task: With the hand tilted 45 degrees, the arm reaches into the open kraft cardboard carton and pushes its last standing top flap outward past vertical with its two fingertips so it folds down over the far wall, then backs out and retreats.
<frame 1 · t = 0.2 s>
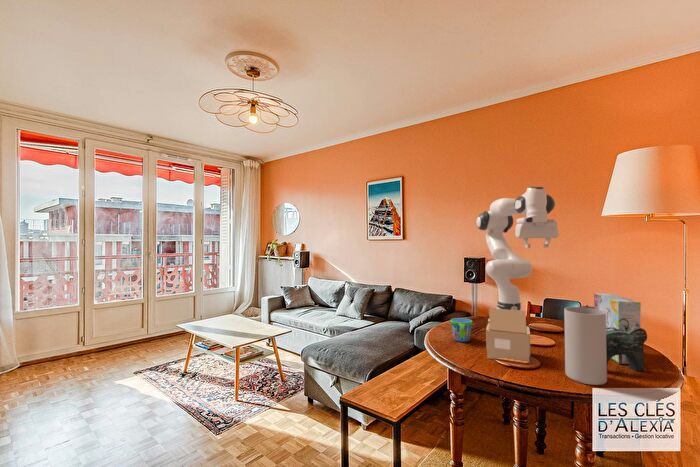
hand: (537, 247, 162), 47 cm above the table, tool pointing down, fingers open, 8 cm apart
carton: (508, 355, 146), on the table
flap: (507, 320, 141), point 17 cm above the table, hinge at 75.0°
game controller: (620, 371, 129), on the table
snack cup: (461, 340, 168), on the table
drinking cup: (587, 348, 154), on the table
reusable coffee cup: (591, 338, 169), on the table
cylinder vase: (585, 378, 122), on the table
snack box: (616, 356, 144), on the table
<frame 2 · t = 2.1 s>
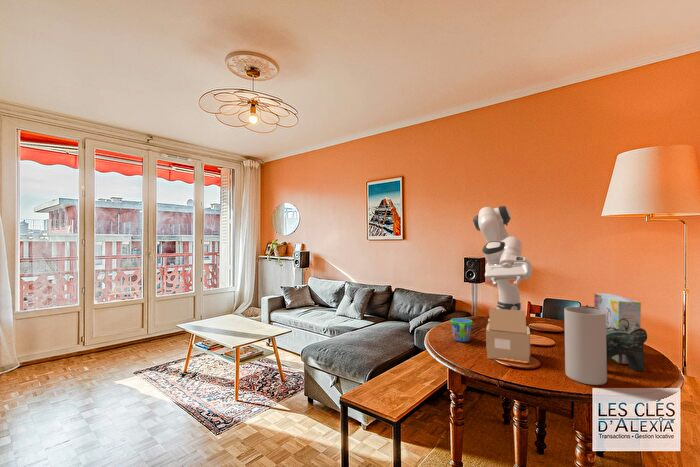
hand: (504, 285, 155), 30 cm above the table, tool tilted 45°, fingers open, 8 cm apart
nothing on the table moved.
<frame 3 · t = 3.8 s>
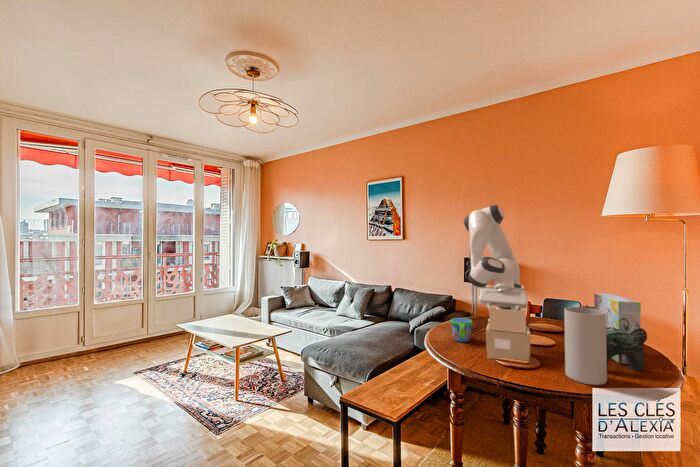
hand: (502, 313, 148), 18 cm above the table, tool tilted 45°, fingers open, 8 cm apart
nothing on the table moved.
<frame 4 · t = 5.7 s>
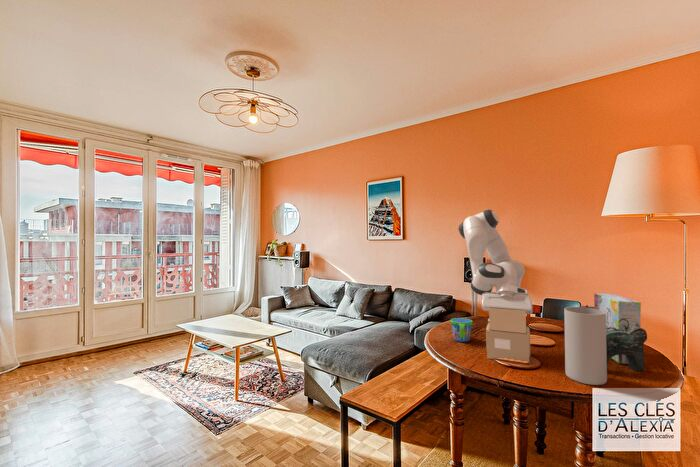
hand: (506, 320, 141), 17 cm above the table, tool tilted 45°
flap: (507, 320, 140), point 17 cm above the table, hinge at 84.0°, touching gripper
everything else where it was.
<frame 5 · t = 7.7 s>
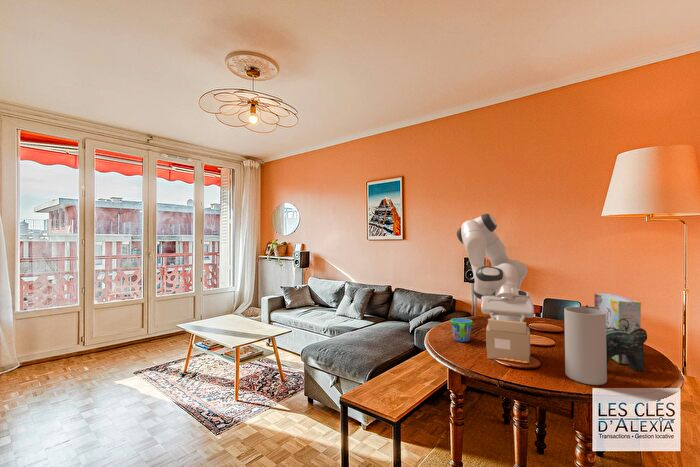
hand: (506, 323, 136), 17 cm above the table, tool tilted 45°
flap: (506, 326, 137), point 15 cm above the table, hinge at 139.5°, touching gripper
everything else where it was.
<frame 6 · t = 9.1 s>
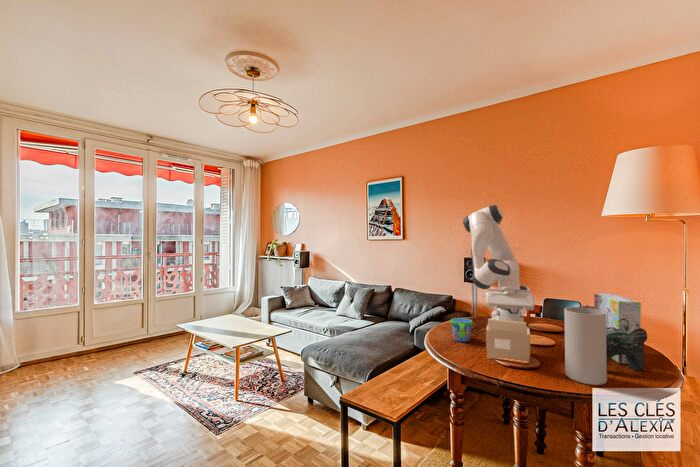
hand: (509, 315, 149), 17 cm above the table, tool tilted 45°, fingers open, 8 cm apart
flap: (506, 326, 137), point 15 cm above the table, hinge at 139.6°
everything else where it was.
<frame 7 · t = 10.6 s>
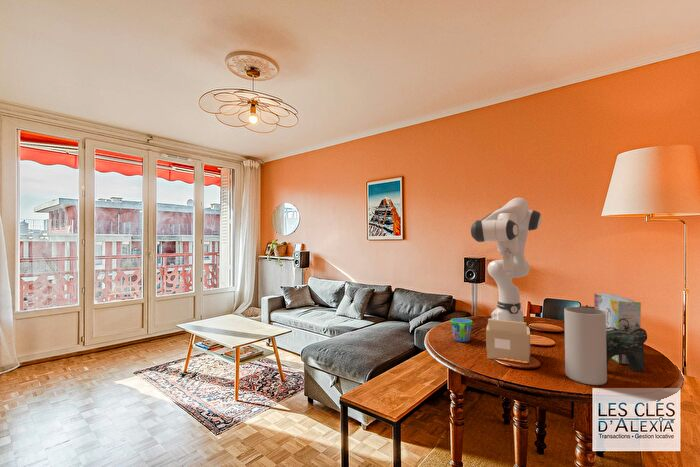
hand: (508, 278, 152), 33 cm above the table, tool pointing down, fingers open, 8 cm apart
nothing on the table moved.
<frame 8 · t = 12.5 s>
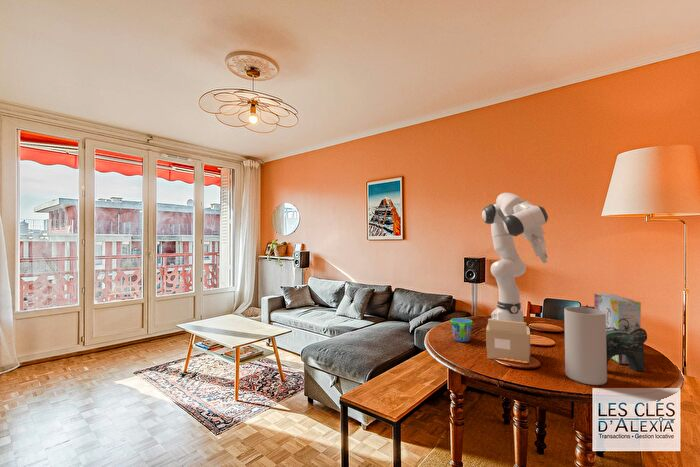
hand: (545, 260, 158), 41 cm above the table, tool tilted 20°, fingers open, 8 cm apart
nothing on the table moved.
at the end: flap at +140° (first picture: +75°) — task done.
